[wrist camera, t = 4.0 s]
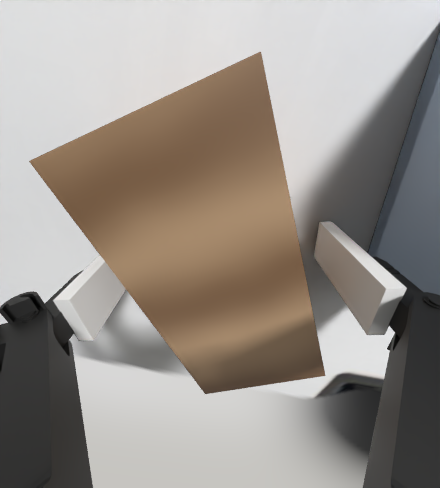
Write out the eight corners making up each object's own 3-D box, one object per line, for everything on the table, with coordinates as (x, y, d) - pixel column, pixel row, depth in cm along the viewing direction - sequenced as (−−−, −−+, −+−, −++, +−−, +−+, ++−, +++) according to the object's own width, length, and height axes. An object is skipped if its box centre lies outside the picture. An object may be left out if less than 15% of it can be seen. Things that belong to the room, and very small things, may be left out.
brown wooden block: (296, 303, 18) (325, 375, 13) (211, 322, 19) (205, 394, 14) (244, 89, 11) (260, 51, 5) (114, 147, 12) (29, 161, 7)
